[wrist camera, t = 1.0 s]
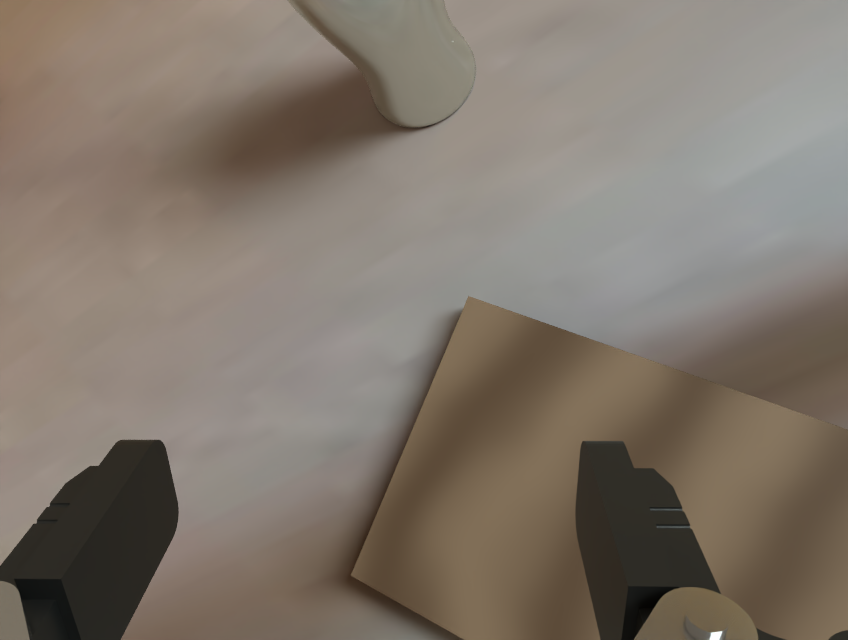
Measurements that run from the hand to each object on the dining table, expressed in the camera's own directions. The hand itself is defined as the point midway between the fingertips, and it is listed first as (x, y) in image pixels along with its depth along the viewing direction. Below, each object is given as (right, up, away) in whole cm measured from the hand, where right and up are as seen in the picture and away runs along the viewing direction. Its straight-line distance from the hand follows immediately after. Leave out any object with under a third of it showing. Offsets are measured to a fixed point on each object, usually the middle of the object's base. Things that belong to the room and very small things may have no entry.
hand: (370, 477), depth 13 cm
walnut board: (+10, -6, +17) cm, 20 cm away
